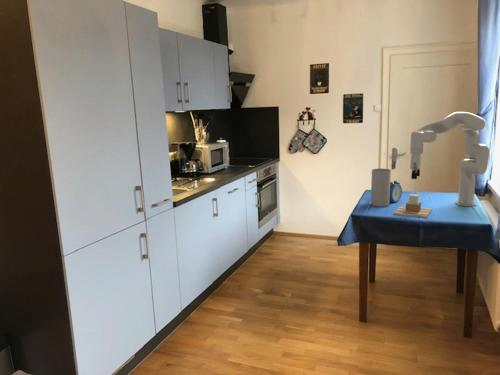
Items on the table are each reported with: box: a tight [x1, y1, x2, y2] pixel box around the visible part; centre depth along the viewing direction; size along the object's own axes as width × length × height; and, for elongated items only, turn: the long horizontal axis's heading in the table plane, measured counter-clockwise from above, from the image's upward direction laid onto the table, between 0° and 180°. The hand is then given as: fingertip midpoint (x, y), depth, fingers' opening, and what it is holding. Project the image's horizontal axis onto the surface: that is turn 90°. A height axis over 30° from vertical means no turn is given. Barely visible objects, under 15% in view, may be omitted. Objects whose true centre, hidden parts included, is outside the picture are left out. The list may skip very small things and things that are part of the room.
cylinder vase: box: [370, 168, 392, 208], centre depth 286 cm, size 12×12×25 cm
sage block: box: [408, 193, 420, 204], centre depth 266 cm, size 5×5×5 cm
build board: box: [393, 200, 433, 219], centre depth 267 cm, size 20×20×6 cm
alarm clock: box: [389, 180, 403, 203], centre depth 295 cm, size 13×6×15 cm, turn 128°
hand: (415, 177), depth 263 cm, fingers open, 9 cm apart
